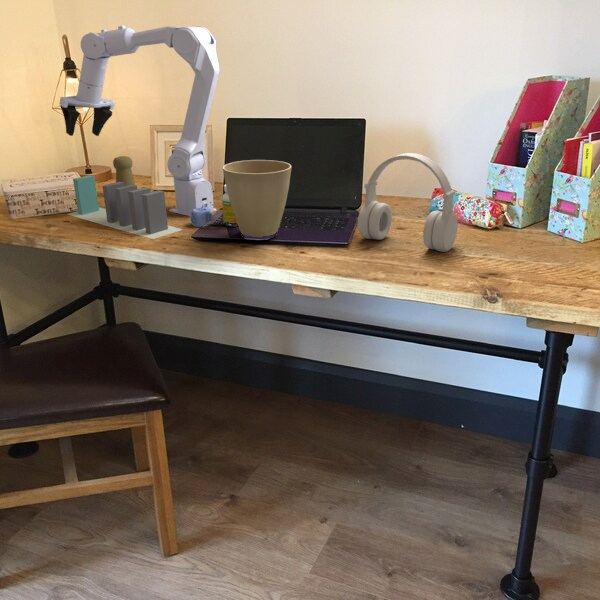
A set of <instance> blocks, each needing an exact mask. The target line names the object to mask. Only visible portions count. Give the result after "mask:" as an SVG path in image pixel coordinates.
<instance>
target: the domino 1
mask: <svg viewBox="0 0 600 600" xmlns="http://www.w3.org/2000/svg"><path fill="white" fill-rule="evenodd" d="M72 181H73V182H72V183H73V187H74V195H75V201H76V207H77V211H78V214H81V215H84V214H88V213H92V212H96V211H99V207H100V206H99V201H98V194H97V193H98V192H97V187H96V177H95V175H91V174H89V175H83V176H80V177H75V178H72Z"/></svg>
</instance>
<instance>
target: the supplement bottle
mask: <svg viewBox="0 0 600 600" xmlns="http://www.w3.org/2000/svg"><path fill="white" fill-rule="evenodd" d="M223 186H224V192H225V193H224V194H223V195H222V197H221V202H222V203H221V204H222V217H223V223H224V222H229V223H237V221H236V218H235V216H234V213H233V210H232V206H231V203H230V200H229V196H228V192H227V188H226V183H225V184H224V185H223Z"/></svg>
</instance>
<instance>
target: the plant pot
mask: <svg viewBox="0 0 600 600" xmlns="http://www.w3.org/2000/svg"><path fill="white" fill-rule="evenodd" d="M222 172H223V177H224V182H225V184H226V188H227V192H228V196H229V200H230V203H231V206H232V210H233V213H234V216H235V218H236V221H237V224H238V226H239V227H238V229H239V231H240V232H241V233H242V234H244V235H247V236H252V237H263V236H270V235H273V234H275V233H276V232H277V233H278V230H279V228H280V225H281V223H282V219H283V216H284V215H283V214H284V213H285V209H286V208H285V207H286V203H287V198H288V193H289V189H290V182H291V181H290V180H291V173H292V165H291V164H290V163H288V162H285V161H279V160H273V159H272V160H270V159H269V160H268V159H267V160H266V159H250V160H240V161H239V160H238V161H232V162H230V163H226V164H224V165H223V166H222ZM242 234H241V235H242Z"/></svg>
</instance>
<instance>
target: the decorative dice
mask: <svg viewBox="0 0 600 600" xmlns="http://www.w3.org/2000/svg"><path fill="white" fill-rule="evenodd" d="M189 218H190V221H191V225H192V226H193V227H196V228H202V227H201V226H203V225H204V224H205V223H207V222H209V221H213V222H214V214H213V212H211V210H210V209H209V208H196V209H193V211H192V212H191V215H190V216H189Z"/></svg>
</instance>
